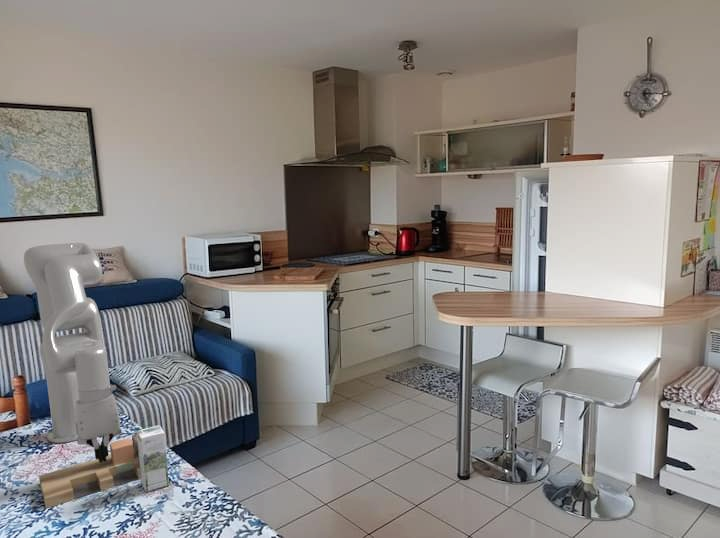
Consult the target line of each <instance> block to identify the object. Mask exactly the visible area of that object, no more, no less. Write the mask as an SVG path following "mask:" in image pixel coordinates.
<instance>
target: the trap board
mask: <svg viewBox="0 0 720 538" xmlns="http://www.w3.org/2000/svg"><path fill="white" fill-rule="evenodd" d="M131 442H132V444H133V452H134V460H133V461H130V462H126V463H123V464H119V465H115V466H114V464H113V462H112V459H111V454H110V455H108V456H107V457H106V460H107V461H105V462H104V461H103V462H101V463H100V462H99V460H98V459H96V458H95V459H92V460H90V461H86V462H82V463H79V464H75V465H71V466H68V467H64V468H62V469H58V470H54V471H50V472H48V473H47V472H46V473H44V474H40V475H38V477H39V478H38V479H39V487H40V490H41V494H42V499H43V501H44V506H45V509H49V508H52V507H55V506H56V507H57V506H58V505H62V504H64V503H68V502H72V501H74V500H77V499H80V498H83V497H84V498H85V497H87V496H90V495H94V494H96V493H101V492H102V491H105V490H109V489H113V488H116V487H118V486H123V485H124V484H128V483H131V482H134V481H137V480H141V476H140V465H139V454H138V444H137V433H136V434H131Z"/></svg>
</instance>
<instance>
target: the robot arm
mask: <svg viewBox="0 0 720 538" xmlns="http://www.w3.org/2000/svg"><path fill="white" fill-rule="evenodd" d="M23 263H24V267H25V270H26V273H27V275H28V276H29V278H30V279H31V282H32V284H33V286H34V287H35V290H36V296H37V302H38V303H37V304H38V310H39V316H40V321H41V327H42V328H43V332H42V343H41V344H40V346H39V355H40V359H41V362H42V366H43V369H44V374H45V377H46V378H45V379H46V385H47V387H46V388H47V392H48V393H47V394H48V402H49V408H50V409H49V410H50V420H51V426H52V430H51V431H50V432H49V433H48V434H47V440H48V441H49V442H51V443H54V444H55V443H56V444H59V443H60V444H61V443H62V444H65V443H69V442H74V441H76V443H77V445H80V446H81V445H82V446H84V445H87V446H90V447H92V448H94V458H95V460H96V459H98V460H99V462H100V463H101V462H103V461H104V462H105V461H107V460H106V457H107V456H109V449H108V446H110V443H111V441H112V440H113V438H115V437H117V436H119V435H121V434H122V433H123V431H122V429H121V420H120V414H119V409H118V404H117V401H116V397H115V395H114V393H113V392H114V391H116V390H118V389H117V385H116V384H111V382H110V372H109V362H108V353H107V349H106V348H107V347H106V346H105V344H104V339H103V333H102V332H103V331H102V326H101V319H100V318H101V317H100V313H99V308H98V305H97V303H96V302H95V300H94V299H92V298H91V297H87V294H86V292H85V287H84V284H90V283H97V282H99V281H100V280H101V279H102V277H103V266H102V264H101V261H100V259H99V257H98V255H97V254H96V253H95V251H94V250H93V249H92V248H91V247H90V246H89V245H88V244H87V243H83V242H71V243H57V244H56V243H53V244H42V245H37V246H33V247H29V248H28V249H27V250H25V251H24V254H23ZM79 329H83V331H82V332H77V333H70V334H69V333H68V334H64V335H58V336H56V333H59V332H65V331H71V330H72V331H73V330H79ZM100 437H101V442H100V443H99V442H98V438H100Z"/></svg>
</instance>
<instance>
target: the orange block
mask: <svg viewBox="0 0 720 538" xmlns="http://www.w3.org/2000/svg"><path fill="white" fill-rule="evenodd" d="M109 449H110V451H109V452H110V455H111V459H112V462H113V464H114V466H115V465H119V464H123V463H126V462H130V461H133V460H134V452H133V442H132V439H131V438H130V437H127V438H124V439H120V440H116V441H112V442H111V441H110V442H109Z"/></svg>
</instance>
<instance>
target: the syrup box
mask: <svg viewBox="0 0 720 538" xmlns="http://www.w3.org/2000/svg"><path fill="white" fill-rule="evenodd" d="M136 436H137V444H138V454H139V465H140V476H141V479H140V483H141V486H142V487H143V489H144V490H145V493H148V492H153V491H157V490H159V489H162V488H166V487H168V486H170V480H169V468H168V465H169V464H168V455H167V454H168V453H167V442H166V441H167V440H166V433H165V432H164V430H163V428H162V426H160V425H154V426H150V427H146V428H142V429H138V430H136Z"/></svg>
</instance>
